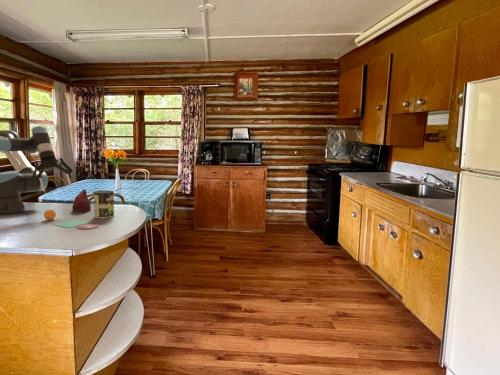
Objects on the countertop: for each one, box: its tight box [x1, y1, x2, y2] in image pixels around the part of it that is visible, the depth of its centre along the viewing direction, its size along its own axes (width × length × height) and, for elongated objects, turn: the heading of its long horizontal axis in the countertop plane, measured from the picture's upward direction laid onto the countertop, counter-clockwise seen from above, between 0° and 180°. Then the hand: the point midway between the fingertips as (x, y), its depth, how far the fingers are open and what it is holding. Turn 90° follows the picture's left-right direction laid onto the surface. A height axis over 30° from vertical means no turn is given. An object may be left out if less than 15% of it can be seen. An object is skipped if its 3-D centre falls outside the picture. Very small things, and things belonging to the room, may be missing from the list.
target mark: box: [52, 219, 90, 229], centre depth 169 cm, size 12×12×1 cm
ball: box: [43, 209, 57, 221], centre depth 176 cm, size 6×6×6 cm
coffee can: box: [92, 190, 115, 220], centre depth 186 cm, size 10×10×14 cm
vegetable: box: [71, 188, 92, 213], centre depth 200 cm, size 10×10×15 cm
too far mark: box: [76, 223, 100, 231], centre depth 164 cm, size 10×10×1 cm
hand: (57, 187), depth 187 cm, fingers open, 13 cm apart
